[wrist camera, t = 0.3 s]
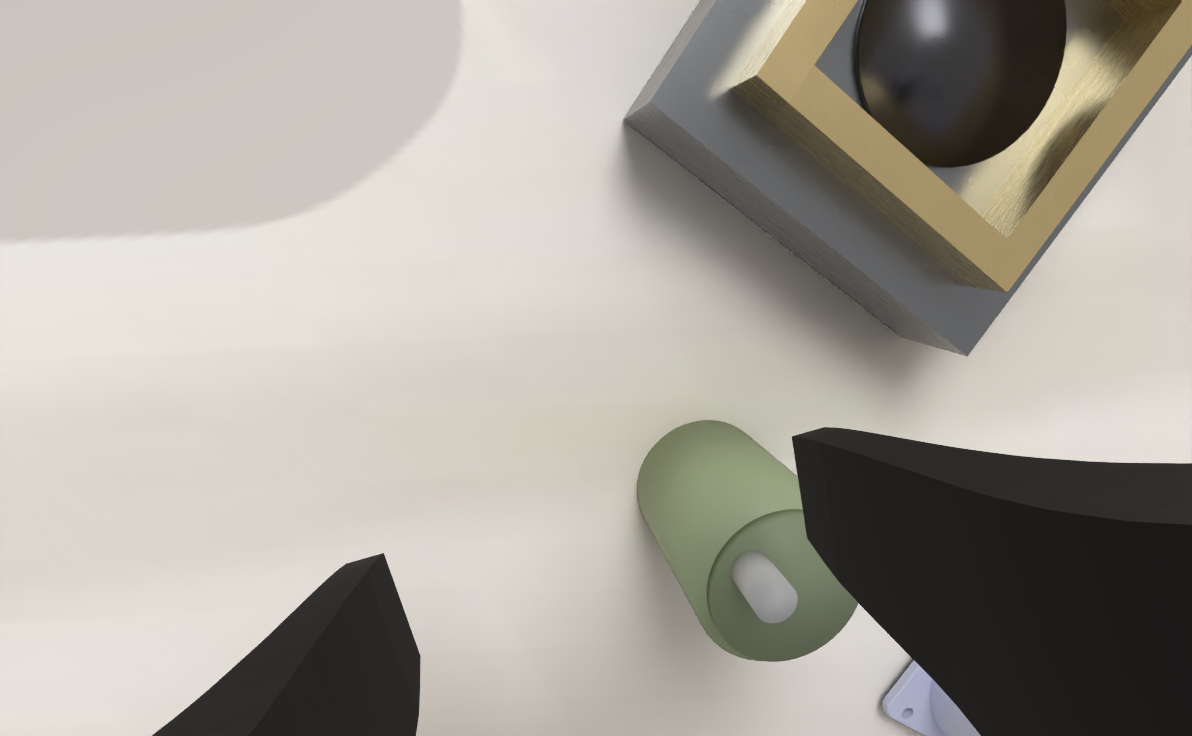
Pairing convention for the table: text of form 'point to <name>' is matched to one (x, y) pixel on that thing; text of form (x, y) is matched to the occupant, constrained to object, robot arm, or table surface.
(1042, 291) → the table surface
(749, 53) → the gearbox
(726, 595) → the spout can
